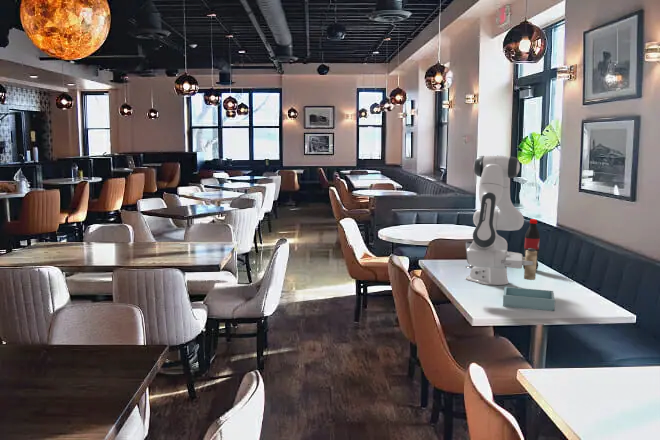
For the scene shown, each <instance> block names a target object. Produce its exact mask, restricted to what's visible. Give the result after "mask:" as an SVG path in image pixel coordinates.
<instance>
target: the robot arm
mask: <svg viewBox="0 0 660 440" xmlns="http://www.w3.org/2000/svg"><path fill="white" fill-rule="evenodd" d="M520 169H521V166H520V162H519V159H518V158H517V157H516V156H512V155H511V156H506V155H481V156H477V157H476V158H475V161H474V162H473V172H474V174H475V175H476V176H477V177H479V178H480V181H479V187H478V196H479V197H478V198H479V202H480V208H478V209H476V210H475V212H474V213H473V216H472V217H473V218H472V222H473V224H474V225H475V228H474V230H473V233H472V239H473V240H472V241H473V242H472V244H471V245H470V247H469V248H468V249H467V250H466V249H465V250H466V251H465V255H466V256H465V257H466V262H467V263H468V264H469V265H468V266H470V265H471V266H474V267H473V268H470V274H469V275H466V277H465V280H467V281H471V282H474V283H478V284H482V285H488V286H489V285H490V286H491V285H494V286H497V285H498V286H502V285H508V284H509V279H508V272H507V270H508V268H510V269H523V265H533V261H525V256H523V254H522V253H520V252H513V251H508V241H507V240H506V239H505V238H504V237H502V236H501V235H499V234H498V232H497V231H509V232H511V231H520V229H522V228H523V225H524V224H525V217H524V216H523V215H524V214H522V212H521V211H520V210H518V209H517V208H516V207H515V205H514V204H513V202H512V200H511V179H513V178H515V177H517V176H518V174H519V172H520ZM496 207H497V208H496Z"/></svg>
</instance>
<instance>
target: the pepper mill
mask: <svg viewBox="0 0 660 440" xmlns="http://www.w3.org/2000/svg"><path fill="white" fill-rule="evenodd" d="M524 257H525V261H533V265H525V269H523V270H524V274H523V279H524V280H528V281H536V275H537V274H536V273H537V270H536V262H537V261H538V258H537V251H535V249H534V248H528V250H526V255H525V254H524Z"/></svg>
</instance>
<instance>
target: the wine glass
mask: <svg viewBox="0 0 660 440" xmlns="http://www.w3.org/2000/svg"><path fill="white" fill-rule="evenodd" d="M472 242H473V240H467V241H465V250H467V249H468V248H469V247H470V245H471V244H472ZM473 267H474V266H471V265H465V268H467V269H472V268H473Z"/></svg>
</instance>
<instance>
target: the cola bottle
mask: <svg viewBox="0 0 660 440" xmlns="http://www.w3.org/2000/svg"><path fill="white" fill-rule="evenodd" d="M537 224H538V220H537V219H536V218H535V219H533V218H531V219H530V220H529V227H528V229H527V230H526V233H525V235H524V246H523V247H524V248H523V252H524V256H525V255H526V250H528V248H534V249H535V251H537V259H538V258H539V253H540V240H541V239H540V238H541V235H540V232H539V229H538V226H537ZM538 268H539V262H538V260H537V262H536V271H538ZM522 269H523V270H525V265H522Z"/></svg>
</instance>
